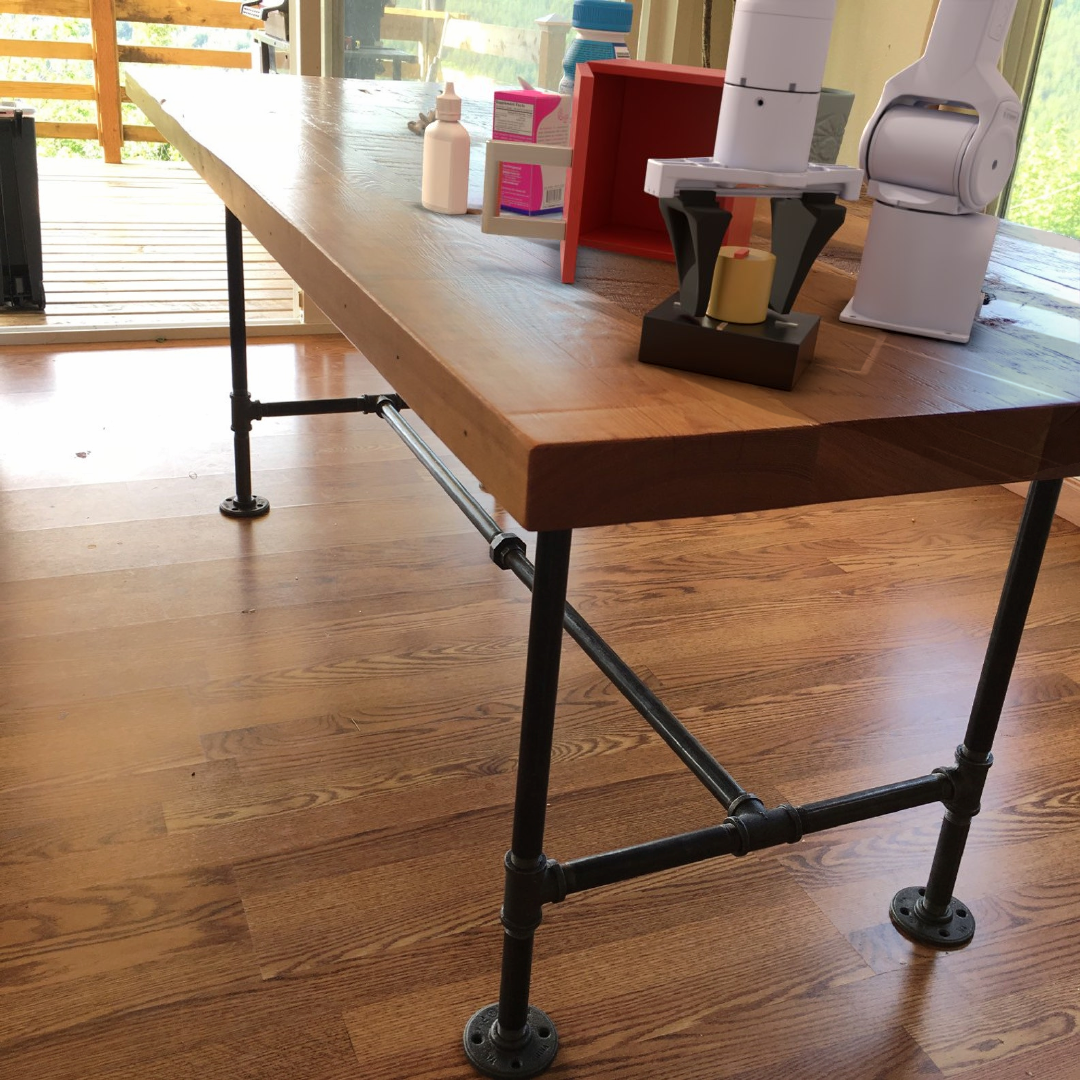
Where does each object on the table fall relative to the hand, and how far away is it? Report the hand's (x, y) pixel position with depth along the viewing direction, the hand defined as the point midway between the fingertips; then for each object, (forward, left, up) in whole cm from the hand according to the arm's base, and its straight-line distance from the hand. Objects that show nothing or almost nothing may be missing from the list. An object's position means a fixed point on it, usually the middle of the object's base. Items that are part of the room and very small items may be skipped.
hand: (735, 311), depth 73 cm
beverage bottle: (+32, -60, -3) cm, 68 cm away
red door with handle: (+22, -17, -3) cm, 28 cm away
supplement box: (+31, -39, -3) cm, 50 cm away
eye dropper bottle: (+37, -32, -3) cm, 49 cm away
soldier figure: (+66, -86, -3) cm, 109 cm away
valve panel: (0, 0, -3) cm, 3 cm away
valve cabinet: (+14, -31, -3) cm, 34 cm away
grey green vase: (+11, -86, -3) cm, 87 cm away
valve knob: (0, 0, 0) cm, 0 cm away
